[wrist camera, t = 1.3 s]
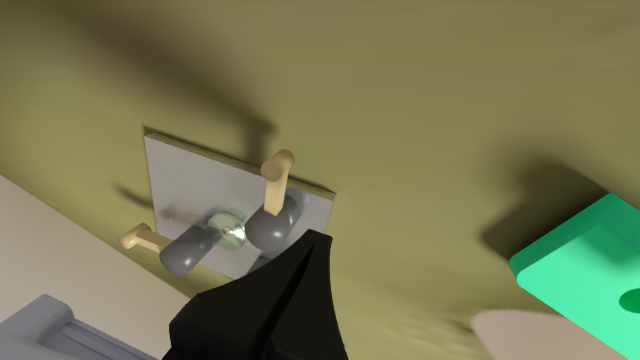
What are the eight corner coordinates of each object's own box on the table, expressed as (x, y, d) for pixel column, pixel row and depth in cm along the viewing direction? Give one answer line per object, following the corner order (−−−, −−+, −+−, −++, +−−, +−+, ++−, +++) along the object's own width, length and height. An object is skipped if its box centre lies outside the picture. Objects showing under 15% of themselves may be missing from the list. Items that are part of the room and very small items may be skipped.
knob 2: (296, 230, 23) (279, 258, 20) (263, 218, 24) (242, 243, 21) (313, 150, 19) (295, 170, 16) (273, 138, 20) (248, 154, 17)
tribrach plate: (306, 298, 29) (299, 316, 27) (167, 241, 32) (152, 254, 30) (336, 194, 22) (329, 208, 20) (155, 132, 25) (133, 139, 23)
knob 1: (212, 233, 27) (186, 258, 23) (212, 255, 28) (188, 281, 25) (148, 208, 28) (115, 228, 25) (151, 230, 29) (121, 252, 26)
